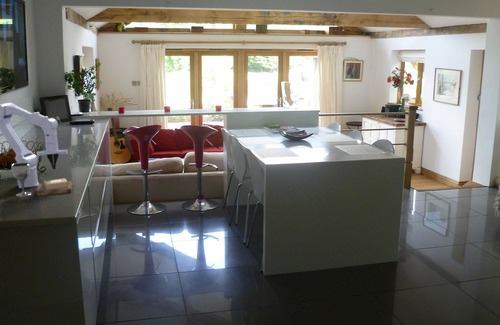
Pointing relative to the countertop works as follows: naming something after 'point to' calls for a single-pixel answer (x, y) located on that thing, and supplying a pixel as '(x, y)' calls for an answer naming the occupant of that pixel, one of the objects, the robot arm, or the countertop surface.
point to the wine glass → (21, 175)
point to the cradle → (53, 190)
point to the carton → (56, 184)
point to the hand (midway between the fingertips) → (54, 168)
